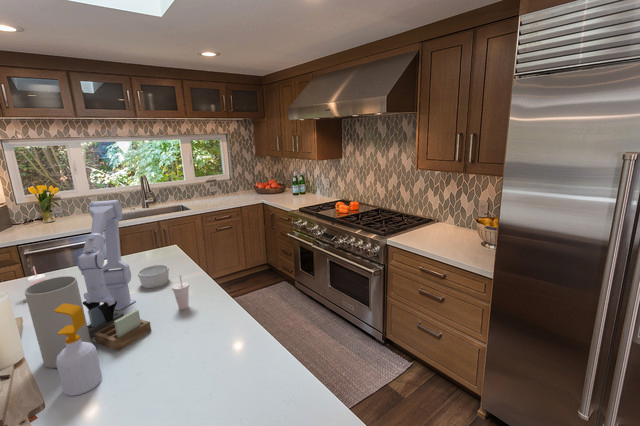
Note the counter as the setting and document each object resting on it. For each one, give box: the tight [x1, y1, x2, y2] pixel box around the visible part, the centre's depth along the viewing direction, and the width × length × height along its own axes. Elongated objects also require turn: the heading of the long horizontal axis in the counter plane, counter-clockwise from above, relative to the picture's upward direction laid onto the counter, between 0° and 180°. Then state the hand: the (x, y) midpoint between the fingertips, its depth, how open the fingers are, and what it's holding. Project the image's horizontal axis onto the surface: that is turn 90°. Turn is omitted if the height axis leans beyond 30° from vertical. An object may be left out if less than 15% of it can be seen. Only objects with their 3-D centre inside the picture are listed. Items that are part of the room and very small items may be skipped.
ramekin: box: [137, 264, 170, 289], centre depth 157 cm, size 13×13×7 cm
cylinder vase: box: [23, 275, 92, 369], centre depth 104 cm, size 12×12×25 cm
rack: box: [93, 318, 152, 352], centre depth 116 cm, size 12×12×4 cm
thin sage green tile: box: [114, 309, 141, 339], centre depth 114 cm, size 1×8×9 cm, turn 155°
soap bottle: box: [54, 303, 103, 397], centre depth 91 cm, size 9×9×25 cm
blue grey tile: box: [87, 303, 116, 328], centre depth 121 cm, size 1×8×9 cm, turn 155°
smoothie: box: [171, 275, 190, 311], centre depth 133 cm, size 6×6×14 cm
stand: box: [87, 310, 125, 340], centre depth 122 cm, size 4×12×3 cm, turn 155°
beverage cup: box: [27, 265, 46, 286], centre depth 149 cm, size 6×6×14 cm
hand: (103, 319), depth 121 cm, fingers open, 7 cm apart
